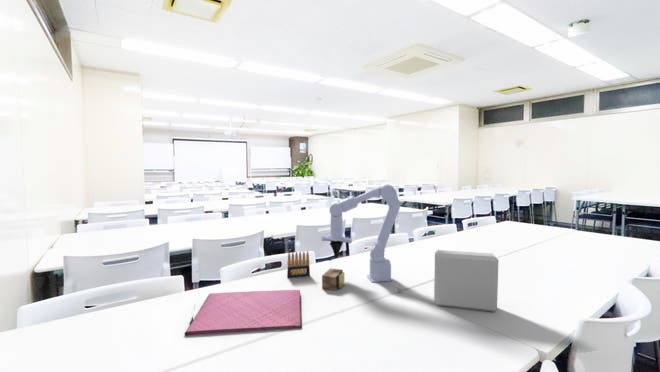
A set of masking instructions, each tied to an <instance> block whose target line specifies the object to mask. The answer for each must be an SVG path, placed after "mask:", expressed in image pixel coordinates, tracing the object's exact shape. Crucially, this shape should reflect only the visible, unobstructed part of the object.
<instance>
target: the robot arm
mask: <svg viewBox="0 0 660 372" xmlns="http://www.w3.org/2000/svg"><path fill="white" fill-rule="evenodd" d="M373 198H377V199H378V198H379V199H380V198H382V199H383V200H384V201H385V202H386V204H387V206H388V210H387V212H386V215H385V217H384V220H383V222H382V225H381V228H380V231H379V233H378V236H377V238H376V241H375V243H374V244H373V245H372V246H371V250H370V253H369V255H370V257H369V274H367V275H366V277H367V278H368V279H369V281H370V282H371V283H377V282H391V281H392V264H391V261H390V259H386V258H385V249H386V247H387V243H388V240H389V238H390V236H391V232H392V230H393V227H394V225H395V222H396V219H397V217H398V214H399V211H400V209H401V204H400V201H399V198H398V193H397V190H396V189H395V188H394V186H392V185H391V184H384V185H383V186H378V187H375V188H372V189H370V190H367V191H366V192H363V193H362V194H360V195H357V196H353V195H348V196H346V198H345V199H342V200H338V201H337V202H335V203H333V204H331V205H330V207H329V214H330V235H329V236H328V235H327V236H326V235H323V236H322V237H321V241H322V242H325V241H326V242H330V243H329V246H330V247H331V249H332V252H333V255H334V258H338V257H339V255H340V251H341V248H342V246H343V244H344V243H346V244H347V243H348V244H352V243H353V239H352V238H351V237H350V238H349V237H344V236H343V235H344V234H343V228H344V227H343V222H344V221H343V213H346V212H348V211H351V210H354V209H356V208H357V207H358V205H359V204H360V203H363V202H366V201H368V200H370V199H373Z"/></svg>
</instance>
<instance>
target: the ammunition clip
mask: <svg viewBox="0 0 660 372" xmlns="http://www.w3.org/2000/svg"><path fill="white" fill-rule="evenodd" d="M309 256H310V255H309V251H308V250H307V251H306V253H305V251H302V253H301V251H299V253H298V252H297V251H296V252H295V254H294V252H293V251H292V253H290V252H288V254H287V271H286V272H287V273H286V274H287V276H286V277H287V278H288V279H292V278H306V277H311V271H310V269H311V268H310V257H309Z"/></svg>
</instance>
